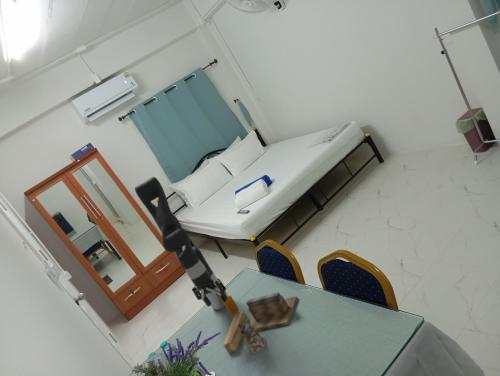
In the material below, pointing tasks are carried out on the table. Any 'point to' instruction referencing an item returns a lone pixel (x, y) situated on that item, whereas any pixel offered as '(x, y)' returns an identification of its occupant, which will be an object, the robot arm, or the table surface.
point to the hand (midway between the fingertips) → (217, 303)
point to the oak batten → (235, 332)
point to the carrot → (230, 305)
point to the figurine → (251, 337)
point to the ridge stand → (271, 311)
